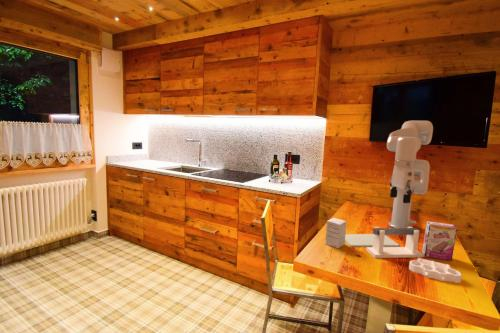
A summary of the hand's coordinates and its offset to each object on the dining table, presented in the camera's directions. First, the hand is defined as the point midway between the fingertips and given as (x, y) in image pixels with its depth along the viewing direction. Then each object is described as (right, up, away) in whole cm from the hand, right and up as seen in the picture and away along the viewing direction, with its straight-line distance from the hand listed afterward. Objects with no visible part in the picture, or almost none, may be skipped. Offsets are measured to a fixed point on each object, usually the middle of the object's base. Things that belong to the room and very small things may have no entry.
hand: (399, 200), depth 127 cm
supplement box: (-27, -25, +12) cm, 38 cm away
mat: (-7, -24, +18) cm, 31 cm away
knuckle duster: (+7, -30, -13) cm, 33 cm away
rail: (0, -17, +2) cm, 17 cm away
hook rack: (-1, -26, +4) cm, 27 cm away
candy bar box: (+18, -28, +1) cm, 33 cm away
